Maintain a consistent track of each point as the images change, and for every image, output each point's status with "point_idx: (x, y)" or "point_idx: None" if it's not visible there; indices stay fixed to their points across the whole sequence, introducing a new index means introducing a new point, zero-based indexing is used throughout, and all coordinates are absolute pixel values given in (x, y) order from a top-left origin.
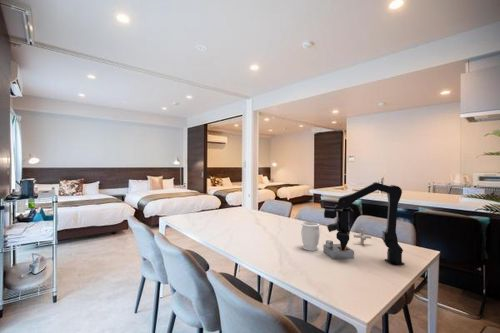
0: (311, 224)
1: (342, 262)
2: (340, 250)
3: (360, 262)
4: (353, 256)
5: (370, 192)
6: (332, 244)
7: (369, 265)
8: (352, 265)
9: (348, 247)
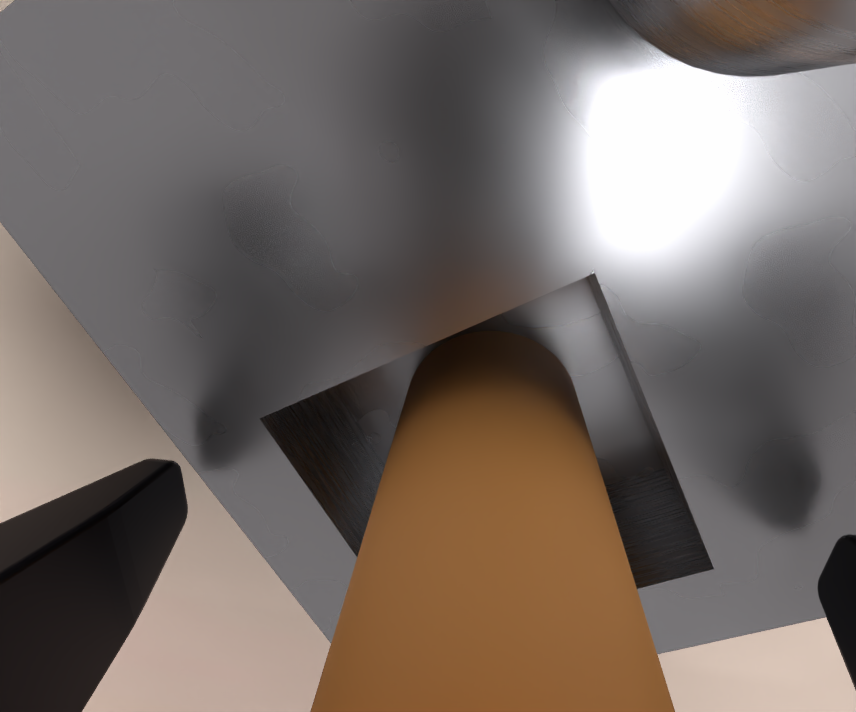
0: None
1: (64, 337)
2: (234, 394)
3: (261, 615)
4: None
5: None
6: (689, 22)
7: (205, 693)
8: (40, 492)
9: (685, 643)
